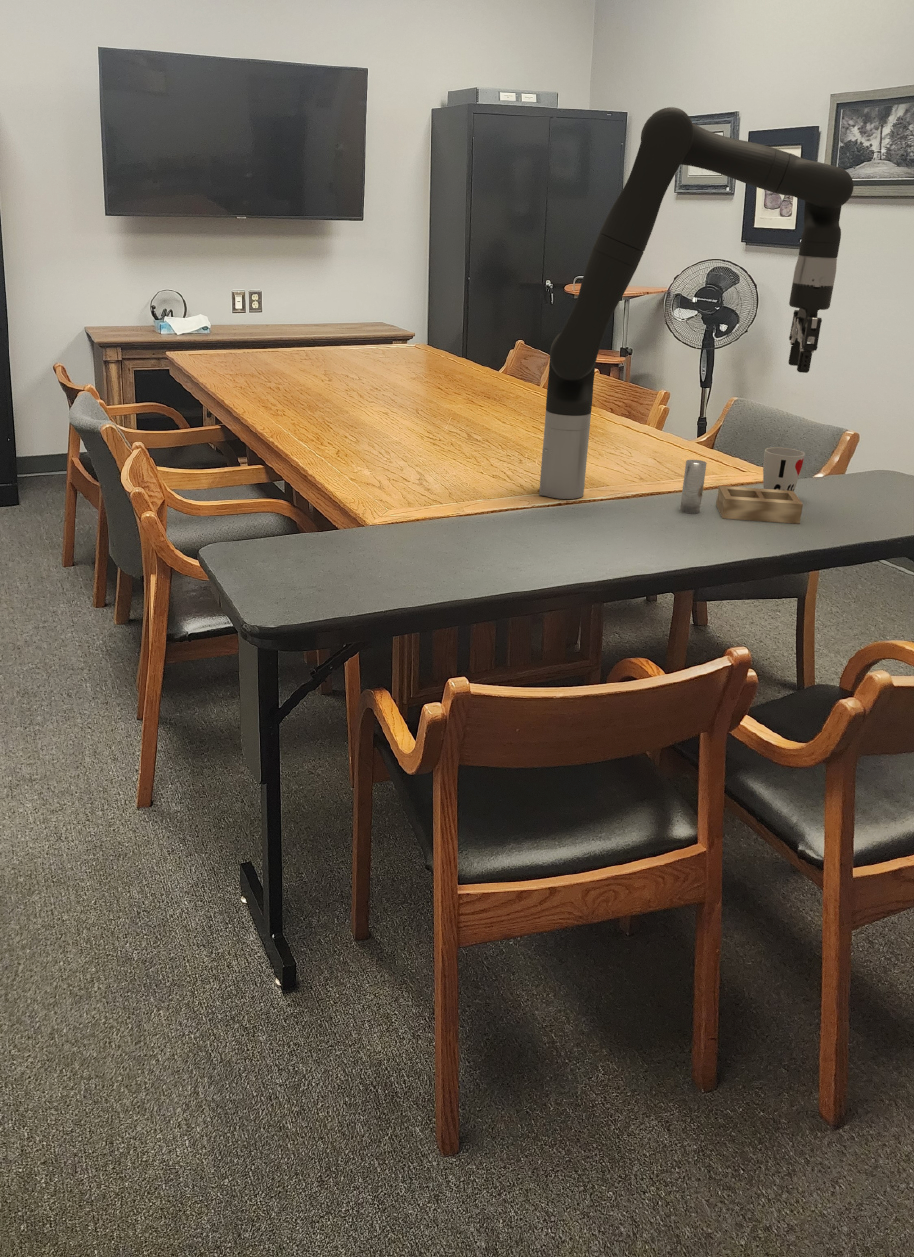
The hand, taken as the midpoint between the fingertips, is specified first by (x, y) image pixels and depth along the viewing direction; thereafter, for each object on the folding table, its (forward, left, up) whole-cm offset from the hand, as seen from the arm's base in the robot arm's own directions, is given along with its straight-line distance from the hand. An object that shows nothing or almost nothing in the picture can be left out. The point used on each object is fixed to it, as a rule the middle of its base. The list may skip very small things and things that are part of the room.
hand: (798, 368), depth 207 cm
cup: (+2, +9, -29) cm, 30 cm away
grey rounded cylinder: (-18, -6, -28) cm, 34 cm away
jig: (-4, -5, -28) cm, 29 cm away
